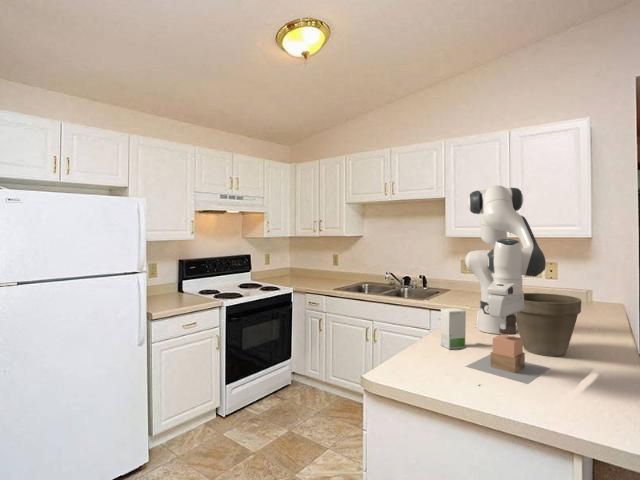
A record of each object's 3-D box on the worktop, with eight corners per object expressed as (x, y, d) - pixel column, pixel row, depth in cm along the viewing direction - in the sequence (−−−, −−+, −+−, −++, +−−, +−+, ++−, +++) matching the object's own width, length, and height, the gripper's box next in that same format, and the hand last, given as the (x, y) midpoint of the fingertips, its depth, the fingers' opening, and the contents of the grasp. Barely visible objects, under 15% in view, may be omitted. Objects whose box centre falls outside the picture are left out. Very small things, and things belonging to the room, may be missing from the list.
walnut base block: (500, 361, 133) (500, 347, 132) (524, 367, 126) (524, 352, 126) (490, 366, 127) (490, 352, 127) (515, 373, 121) (515, 358, 121)
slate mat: (491, 357, 141) (491, 353, 141) (550, 372, 126) (550, 368, 126) (465, 370, 128) (465, 366, 128) (527, 388, 113) (527, 384, 113)
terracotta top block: (501, 348, 132) (501, 334, 132) (522, 352, 126) (522, 338, 126) (492, 352, 127) (492, 337, 127) (514, 357, 122) (514, 342, 122)
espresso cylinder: (503, 330, 130) (503, 313, 130) (518, 332, 126) (518, 315, 126) (496, 332, 127) (496, 315, 127) (512, 335, 123) (512, 317, 123)
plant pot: (495, 345, 157) (495, 294, 156) (537, 339, 165) (537, 290, 165) (550, 364, 133) (550, 304, 133) (596, 356, 142) (597, 299, 141)
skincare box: (448, 349, 151) (448, 311, 151) (439, 345, 157) (439, 308, 157) (466, 348, 153) (466, 310, 153) (456, 343, 159) (456, 307, 159)
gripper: (510, 283, 136) (510, 320, 136) (484, 288, 122) (484, 330, 122) (529, 284, 131) (529, 323, 131) (504, 290, 117) (504, 334, 118)
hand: (507, 327), depth 127 cm, fingers closed on espresso cylinder, 5 cm apart
